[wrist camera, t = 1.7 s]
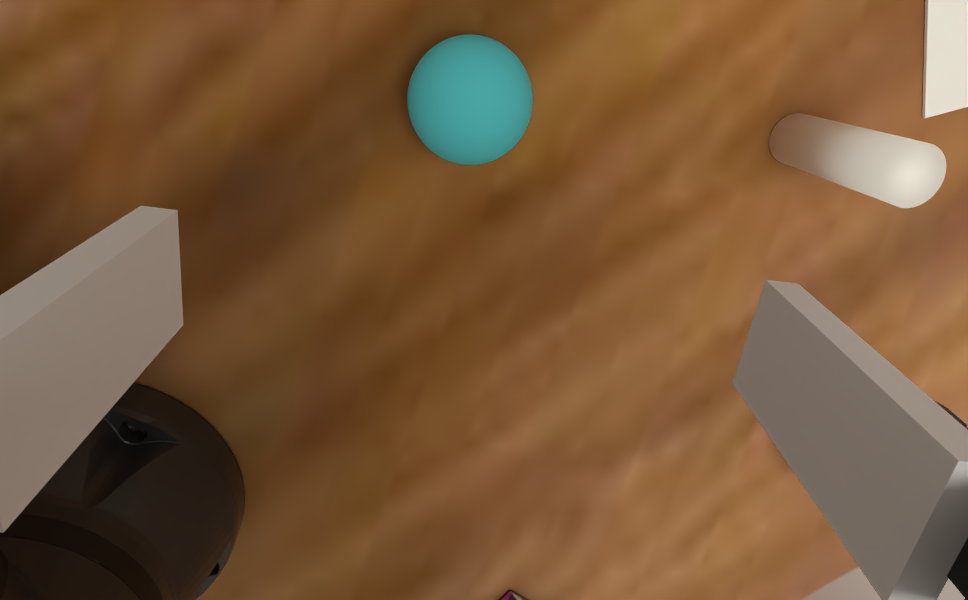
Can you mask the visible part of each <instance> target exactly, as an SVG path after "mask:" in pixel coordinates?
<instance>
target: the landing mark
mask: <svg viewBox="0 0 968 600" xmlns="http://www.w3.org/2000/svg"><path fill="white" fill-rule="evenodd" d="M965 107H968V0H925V30H924V69H923V109H922V118H928V117H931V116H935V115H939V114H943V113H946V112H950V111H954V110H957V109H961V108H965Z"/></svg>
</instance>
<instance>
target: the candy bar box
mask: <svg viewBox="0 0 968 600" xmlns="http://www.w3.org/2000/svg"><path fill="white" fill-rule="evenodd" d="M501 600H526V599H524V598H523V597H521V596H519V595H517V594H515V593H513V592H509V593H507V594H506V595H505V596H504V597H503V598H502V599H501Z"/></svg>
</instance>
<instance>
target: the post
mask: <svg viewBox="0 0 968 600" xmlns="http://www.w3.org/2000/svg"><path fill="white" fill-rule="evenodd" d="M769 148H770V152H771V154H772V156H773V157H774V158H775V159H776V160H777V161H779V162H781V163H783V164H786V165H789V166H791V167H794V168H797V169H799V170H802V171H805V172H807V173H810V174H813V175H815V176H818V177H820V178H823V179H826V180H828V181H831V182H834V183H836V184H839V185H842V186H844V187H847V188H850V189H852V190H855V191H858V192H860V193H863V194H866V195H868V196H871V197H873V198H876V199H879V200H881V201H884V202H887V203H889V204H892V205H895V206H897V207H901V208H912V207H916V206H919V205H921V204H923V203H924V202H926V201H927V200H929V199H930V198H931V197H932V196H933V195H934V194H935V193H936V192H937V191H938V189H939V188H940V186H941V184H942V182H943V180H944V177H945V173H946V159H945V156H944V154H943V152H942V151H941V150H940V149H939V148H938V147H937V146H935V145H933V144H930V143H926V142H921V141H917V140H913V139H909V138H904V137H900V136H896V135H892V134H887V133H883V132H879V131H875V130H870V129H866V128H862V127H858V126H853V125H849V124H845V123H841V122H837V121H832V120H828V119H824V118H820V117H815V116H811V115H807V114H803V113H793V114H790V115H787V116H785V117H784V118H782V119H781V120H780V121H779V122H778V123H777V124H776V125H775V127H774V128H773V130H772V132H771V135H770V138H769Z"/></svg>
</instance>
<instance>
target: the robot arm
mask: <svg viewBox="0 0 968 600" xmlns="http://www.w3.org/2000/svg"><path fill="white" fill-rule="evenodd" d="M182 326H183V308H182V288H181V269H180V249H179V229H178V210H173V209H165V208H156V207H148V206H139V207H138V208H136V209H135V210H133V211H132V212H130V213H128V214H127V215H125V216H124V217H122V218H121V219H119V220H117V221H116V222H114V223H113V224H111V225H110V226H108V227H107V228H105V229H103V230H102V231H100V232H99V233H97V234H96V235H94V236H92V237H91V238H89V239H88V240H86V241H85V242H83V243H81V244H80V245H78V246H77V247H75V248H74V249H72V250H70V251H69V252H67V253H66V254H64V255H63V256H61V257H59V258H58V259H56V260H55V261H53V262H52V263H50V264H49V265H47V266H45V267H44V268H42V269H41V270H39V271H38V272H36V273H34V274H33V275H31V276H30V277H28V278H27V279H25V280H23V281H22V282H20V283H19V284H17V285H16V286H14V287H12V288H11V289H9V290H8V291H6V292H5V293H3V294H1V295H0V600H196V599H197V598H198V597H199V596H200V595H201V594H203V593H204V592H205V590H206V589H207V588H208V587H209V586H210V585H211V584H212V583H213V582H214V580H215V579H216V578H217V577H218V575H219V574H220V572H221V571H222V569H223V568H224V566H225V564H226V563H227V561H228V559H229V557H230V554H231V552H232V550H233V547H234V544H235V541H236V538H237V534H238V531H239V528H240V525H241V522H242V518H243V512H244V503H245V496H244V486H243V481H242V476H241V473H240V470H239V467H238V465H237V462H236V460H235V458H234V456H233V454H232V453H231V451H230V449H229V448H228V446H227V445H226V443H225V442H224V441H223V439H222V438H221V437H220V436H219V434H218V433H217V432H216V431H215V430H214V429H213V428H212V427H211V426H210V425H209V424H208V423H207V422H206V421H205V420H204V419H202V418H201V417H200V416H199V415H198V414H196V413H195V412H193V411H192V410H191V409H189V408H188V407H186V406H185V405H183V404H181V403H180V402H178V401H176V400H174V399H173V398H171V397H168V396H166V395H164V394H162V393H160V392H157V391H155V390H152V389H150V388H147V387H144V386H141V385H137V384H133V383H134V381H135V380H136V379H137V378H138V377H139V376H140V374H141V373H142V372H143V371H144V370H145V369H146V368H147V366H148V365H149V364H150V363H151V362H152V361H153V359H154V358H155V357H156V356H157V355H158V354H159V353H160V351H161V350H162V349H163V348H164V347H165V346H166V344H167V343H168V342H169V341H170V340H171V339H172V337H173V336H174V335H175V334H176V333H177V332H178V331H179V329H180V328H181V327H182ZM732 384H733V385H734V386H735V388H736V389H737V391H738V392H739V394H740V395H741V397H742V398H743V400H744V401H745V402H746V404H747V405H748V407H749V408H750V410H751V411H752V413H753V414H754V415H755V417H756V418H757V420H758V421H759V423H760V424H761V426H762V427H763V428H764V430H765V431H766V433H767V434H768V436H769V437H770V439H771V440H772V441H773V443H774V444H775V446H776V447H777V449H778V450H779V452H780V453H781V455H782V456H783V457H784V459H785V460H786V462H787V463H788V465H789V466H790V468H791V469H792V470H793V472H794V473H795V475H796V476H797V478H798V479H799V481H800V482H801V483H802V485H803V486H804V488H805V489H806V491H807V492H808V494H809V495H810V496H811V498H812V499H813V501H814V502H815V504H816V505H817V507H818V508H819V510H820V511H821V512H822V514H823V515H824V517H825V518H826V520H827V521H828V523H829V524H830V525H831V527H832V528H833V530H834V531H835V533H836V534H837V536H838V537H839V538H840V540H841V541H842V543H843V544H844V546H845V547H846V549H847V550H848V551H849V553H850V554H851V556H852V557H853V559H854V560H855V562H856V563H857V565H858V566H859V567H860V569H861V570H862V572H863V573H864V575H865V576H866V577H867V579H868V580H869V582H870V583H871V585H872V586H873V588H874V589H875V591H876V592H877V593H878V595H879V596H880V598H881V599H882V600H937V598H938V596H939V594H940V593H941V591H942V589H943V587H944V585H945V583H946V582H947V580H948V578H949V579H950V580H951V581H952V583H953V584H954V585H955V586H956V587H957V589H958V590H959V591H960V592H961V594H962V595H963V596H964V597H965V599H964V600H968V428H967V427H966V426H967V425H966V424H965V423H964V422H963V421H962V420H961V419H959V418H958V417H957V416H956V415H955V414H954V413H952V412H951V411H950V410H949V409H948V408H946V407H945V406H943V405H941V404H940V403H938V402H936V401H934V400H933V399H931V398H930V397H929V396H928V395H927V394H926V393H924V392H923V391H922V390H921V389H920V388H919V387H917V386H916V385H915V384H914V383H913V382H912V381H910V380H909V379H908V378H907V377H906V376H905V375H904V374H902V373H901V372H900V371H899V370H898V369H897V368H895V367H894V366H893V365H892V364H891V363H890V362H888V361H887V360H886V359H885V358H884V357H883V356H881V355H880V354H879V353H878V352H877V351H876V350H874V349H873V348H872V347H871V346H870V345H869V344H867V343H866V342H865V341H864V340H863V339H862V338H861V337H859V336H858V335H857V334H856V333H855V332H854V331H852V330H851V329H850V328H849V327H848V326H847V325H845V324H844V323H843V322H842V321H841V320H840V319H838V318H837V317H836V316H835V315H834V314H833V313H831V312H830V311H829V310H828V309H827V308H826V307H825V306H823V305H822V304H821V303H820V302H819V301H818V300H816V299H815V298H814V297H813V296H812V295H811V294H809V293H808V292H807V291H806V290H805V289H804V288H802V287H801V286H800V285H799V284H797V283H788V282H780V281H771V280H766V281H765V284H764V287H763V291H762V294H761V297H760V300H759V303H758V306H757V309H756V312H755V315H754V318H753V321H752V324H751V327H750V330H749V333H748V337H747V340H746V343H745V346H744V349H743V352H742V355H741V358H740V361H739V364H738V367H737V370H736V373H735V376H734V379H733V383H732Z"/></svg>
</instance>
